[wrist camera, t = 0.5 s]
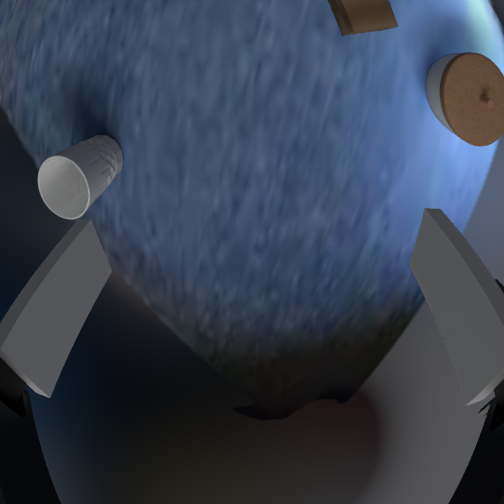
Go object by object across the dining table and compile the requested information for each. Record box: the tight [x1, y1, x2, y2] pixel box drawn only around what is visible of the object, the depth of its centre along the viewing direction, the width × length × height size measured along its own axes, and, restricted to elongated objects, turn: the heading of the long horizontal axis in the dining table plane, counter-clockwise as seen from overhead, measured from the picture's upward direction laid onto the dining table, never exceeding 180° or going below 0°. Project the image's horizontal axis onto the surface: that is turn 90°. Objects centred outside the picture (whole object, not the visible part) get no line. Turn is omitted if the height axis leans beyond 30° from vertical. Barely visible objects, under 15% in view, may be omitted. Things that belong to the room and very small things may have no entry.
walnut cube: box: [328, 0, 398, 36], centre depth 20 cm, size 5×5×5 cm
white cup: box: [38, 135, 123, 219], centre depth 30 cm, size 8×8×10 cm
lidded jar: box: [425, 52, 504, 146], centre depth 22 cm, size 11×11×9 cm
